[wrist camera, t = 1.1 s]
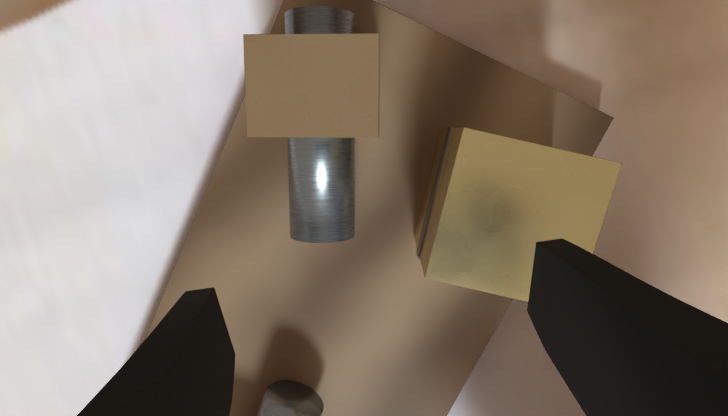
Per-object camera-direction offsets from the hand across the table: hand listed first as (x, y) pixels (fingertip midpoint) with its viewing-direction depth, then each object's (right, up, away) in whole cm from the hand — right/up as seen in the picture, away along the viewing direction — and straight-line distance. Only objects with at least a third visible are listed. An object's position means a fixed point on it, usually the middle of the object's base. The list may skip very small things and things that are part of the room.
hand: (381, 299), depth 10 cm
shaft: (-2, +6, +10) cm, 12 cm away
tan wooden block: (+5, +3, +10) cm, 11 cm away
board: (-2, -3, +13) cm, 13 cm away
